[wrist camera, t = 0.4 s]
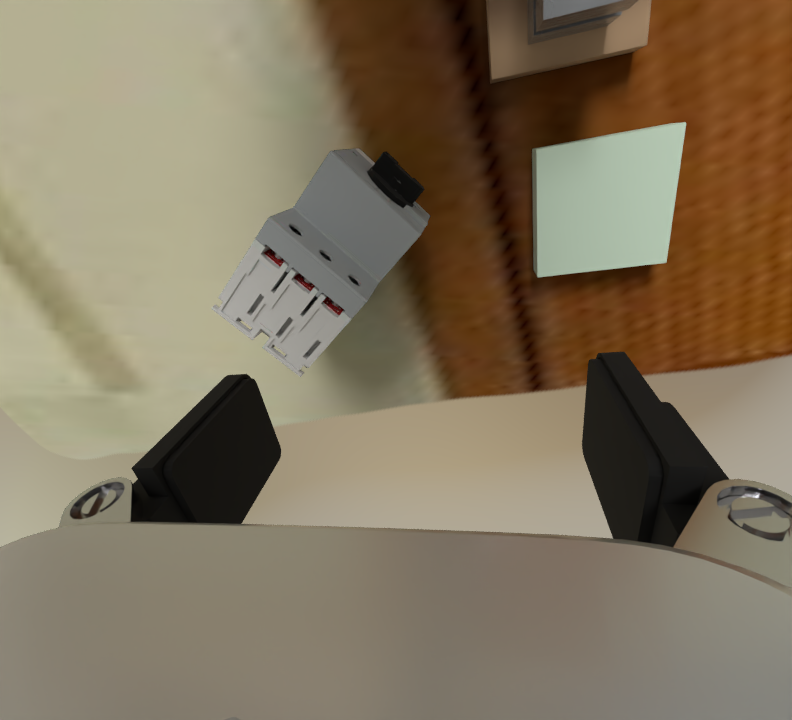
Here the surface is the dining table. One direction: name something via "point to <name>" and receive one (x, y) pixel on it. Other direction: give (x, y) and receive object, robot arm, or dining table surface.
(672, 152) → the stand green
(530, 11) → the block
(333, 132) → the dining table surface
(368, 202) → the circuit breaker
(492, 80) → the stand walnut
